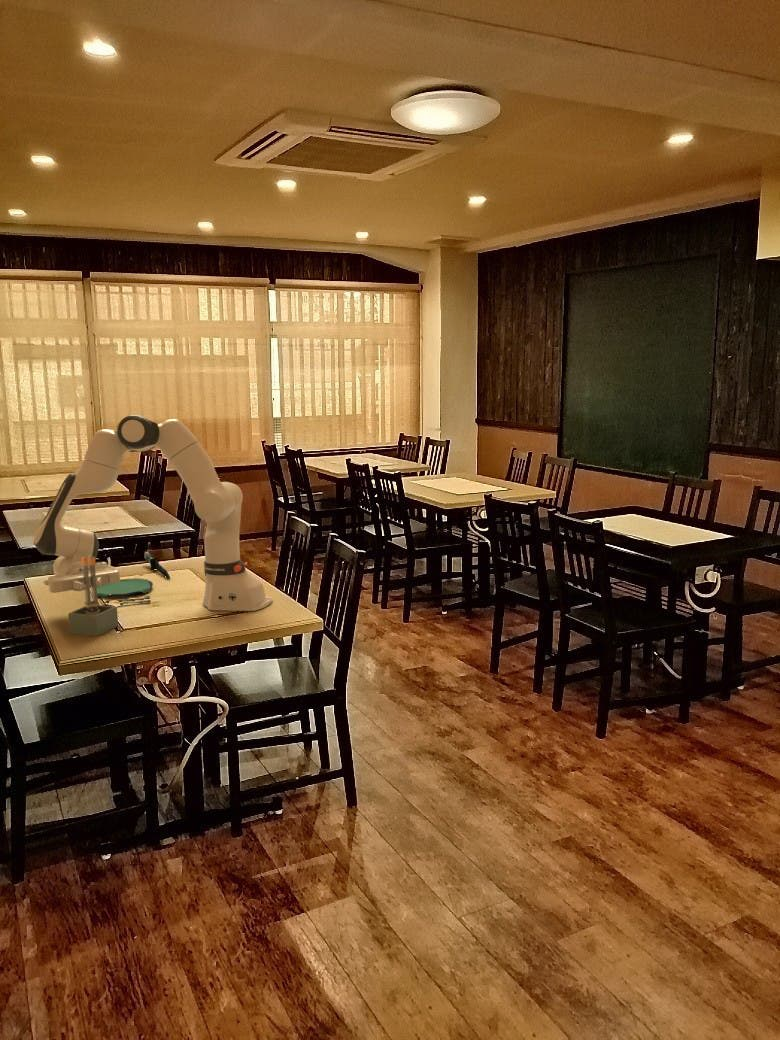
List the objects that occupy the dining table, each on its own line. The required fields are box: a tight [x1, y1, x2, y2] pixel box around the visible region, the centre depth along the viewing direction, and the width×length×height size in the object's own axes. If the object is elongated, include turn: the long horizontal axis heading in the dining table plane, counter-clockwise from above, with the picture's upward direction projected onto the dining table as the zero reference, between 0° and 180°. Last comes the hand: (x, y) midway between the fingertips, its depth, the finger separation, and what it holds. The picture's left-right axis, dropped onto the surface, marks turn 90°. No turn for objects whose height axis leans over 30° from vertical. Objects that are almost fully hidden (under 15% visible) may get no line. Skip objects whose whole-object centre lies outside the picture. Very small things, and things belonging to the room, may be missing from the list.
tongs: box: [81, 556, 101, 615], centre depth 233 cm, size 4×4×19 cm
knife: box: [143, 550, 171, 580], centre depth 302 cm, size 31×3×4 cm, turn 30°
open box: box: [67, 604, 119, 637], centre depth 235 cm, size 10×10×6 cm
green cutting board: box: [97, 577, 154, 605], centre depth 273 cm, size 20×30×2 cm, turn 20°
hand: (91, 585), depth 232 cm, fingers closed on tongs, 3 cm apart
